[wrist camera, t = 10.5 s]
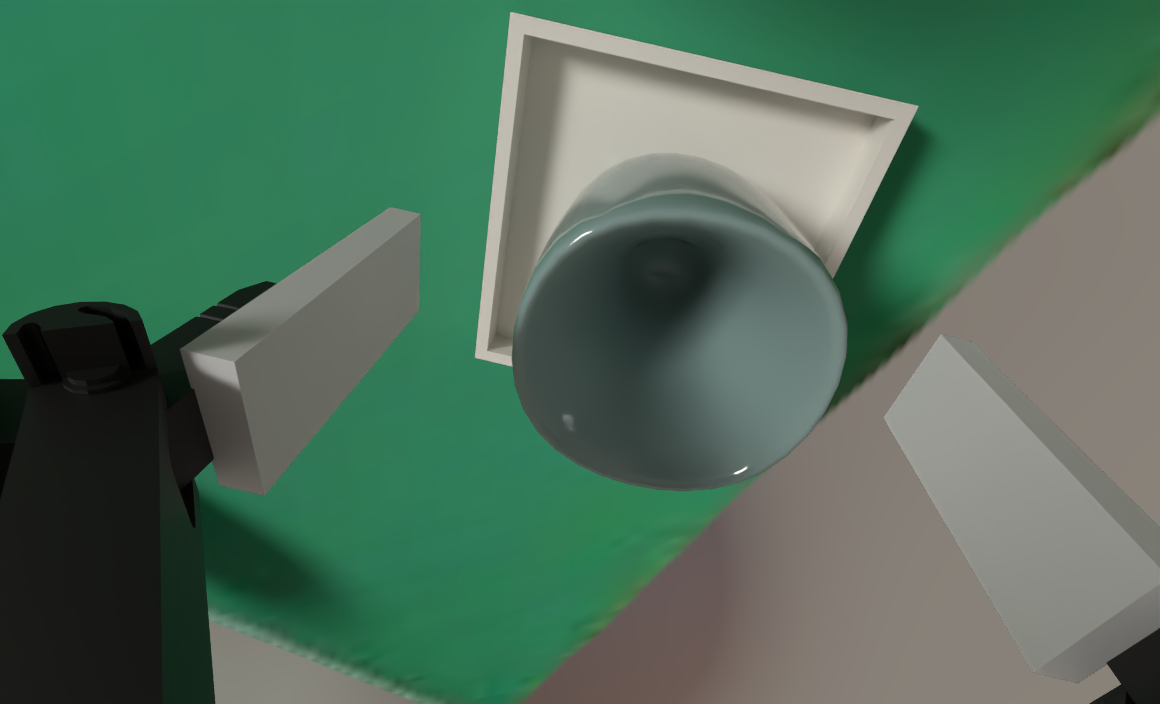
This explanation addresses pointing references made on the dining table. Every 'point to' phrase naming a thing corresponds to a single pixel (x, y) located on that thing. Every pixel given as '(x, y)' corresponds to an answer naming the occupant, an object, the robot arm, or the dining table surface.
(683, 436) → the cup
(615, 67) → the dish
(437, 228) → the dining table surface
